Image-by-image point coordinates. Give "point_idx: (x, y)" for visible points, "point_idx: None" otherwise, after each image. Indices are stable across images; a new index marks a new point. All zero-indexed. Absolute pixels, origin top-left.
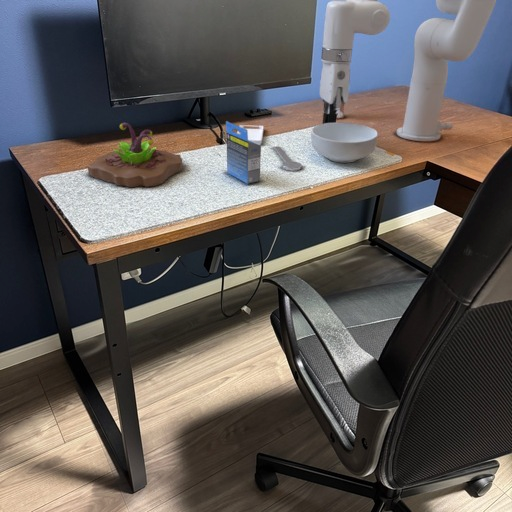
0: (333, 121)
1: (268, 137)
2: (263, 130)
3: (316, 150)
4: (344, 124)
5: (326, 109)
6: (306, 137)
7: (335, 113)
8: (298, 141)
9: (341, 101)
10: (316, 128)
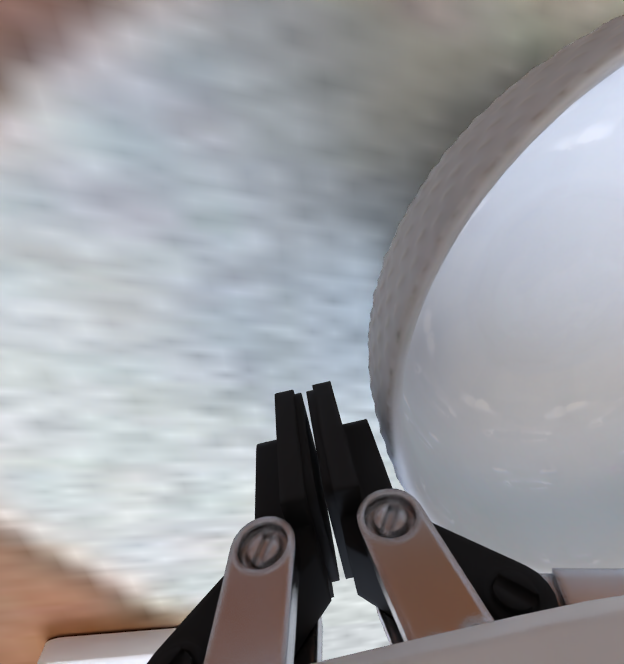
0: (374, 448)
1: (177, 606)
2: (75, 641)
3: (601, 455)
4: (413, 330)
5: (317, 622)
6: (123, 454)
7: (415, 514)
8: (223, 491)
9: (404, 642)
10: (495, 542)
